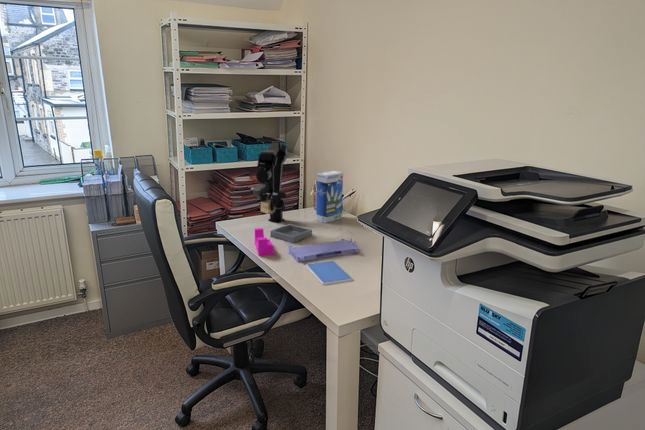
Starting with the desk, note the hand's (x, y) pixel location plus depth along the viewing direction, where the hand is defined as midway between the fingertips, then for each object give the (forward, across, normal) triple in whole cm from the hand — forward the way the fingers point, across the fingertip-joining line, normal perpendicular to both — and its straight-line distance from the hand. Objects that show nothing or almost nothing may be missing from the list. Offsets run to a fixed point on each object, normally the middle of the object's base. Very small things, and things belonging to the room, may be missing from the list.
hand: (268, 209), depth 210 cm
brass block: (+1, 0, 0) cm, 1 cm away
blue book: (+12, +52, -20) cm, 57 cm away
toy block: (+12, +15, -18) cm, 27 cm away
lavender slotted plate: (+12, +38, -4) cm, 40 cm away
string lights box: (+11, +10, +36) cm, 39 cm away
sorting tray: (+11, +13, +2) cm, 17 cm away
